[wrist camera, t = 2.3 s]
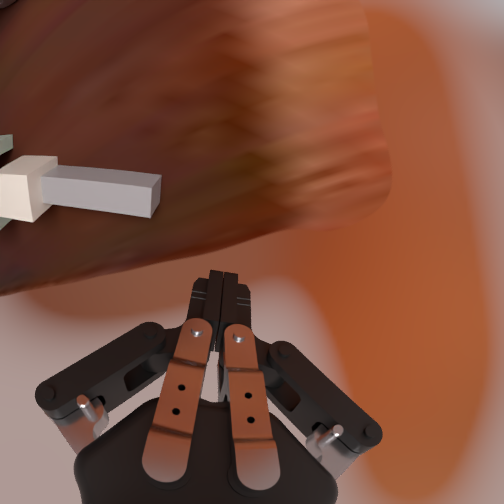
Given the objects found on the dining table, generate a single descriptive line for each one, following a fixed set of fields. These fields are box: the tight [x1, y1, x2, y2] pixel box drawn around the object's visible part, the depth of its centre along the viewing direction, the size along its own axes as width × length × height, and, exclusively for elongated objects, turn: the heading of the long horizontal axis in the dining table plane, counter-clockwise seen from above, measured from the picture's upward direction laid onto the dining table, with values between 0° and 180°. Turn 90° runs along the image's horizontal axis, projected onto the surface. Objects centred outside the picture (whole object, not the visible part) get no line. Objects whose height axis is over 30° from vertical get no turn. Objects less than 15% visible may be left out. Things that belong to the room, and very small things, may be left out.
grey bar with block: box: [0, 156, 162, 222], centre depth 20 cm, size 17×4×5 cm, turn 78°
